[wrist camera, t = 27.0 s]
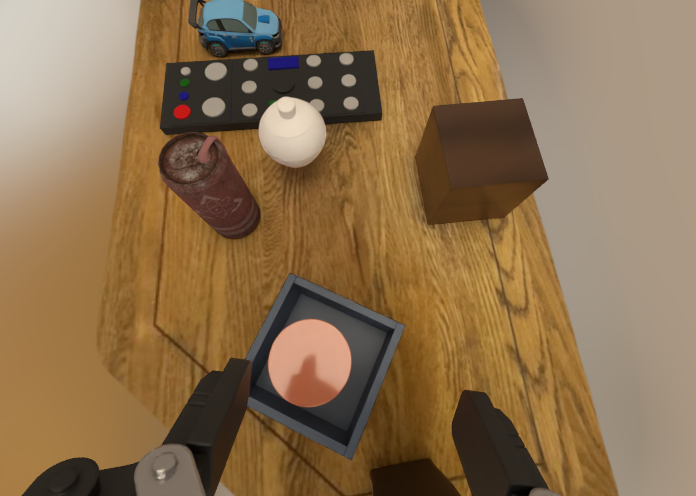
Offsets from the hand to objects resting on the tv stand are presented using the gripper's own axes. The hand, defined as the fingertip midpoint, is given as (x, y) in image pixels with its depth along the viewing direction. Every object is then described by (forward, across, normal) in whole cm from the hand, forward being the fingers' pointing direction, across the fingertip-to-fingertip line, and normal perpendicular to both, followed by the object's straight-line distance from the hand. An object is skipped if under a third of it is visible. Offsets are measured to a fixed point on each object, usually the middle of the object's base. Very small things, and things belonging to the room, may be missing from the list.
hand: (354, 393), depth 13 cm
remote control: (+44, +13, -12) cm, 47 cm away
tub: (+22, +1, +15) cm, 27 cm away
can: (+32, +14, +4) cm, 35 cm away
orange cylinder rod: (+21, +1, +15) cm, 26 cm away
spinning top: (+37, +7, -4) cm, 38 cm away
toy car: (+49, +20, -19) cm, 57 cm away
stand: (+35, -14, -5) cm, 38 cm away
